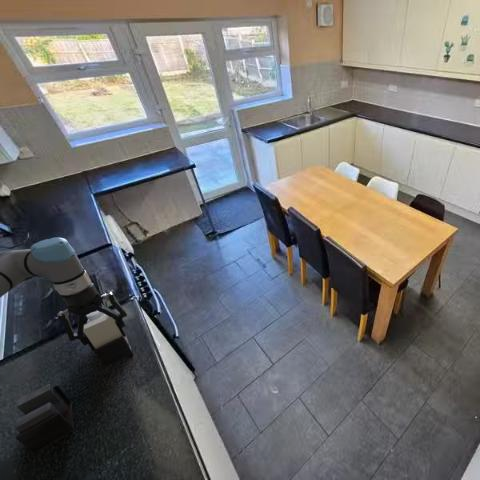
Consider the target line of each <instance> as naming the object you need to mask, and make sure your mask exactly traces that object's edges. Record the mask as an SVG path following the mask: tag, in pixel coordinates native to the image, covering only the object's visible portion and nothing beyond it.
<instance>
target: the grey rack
mask: <svg viewBox="0 0 480 480" xmlns="http://www.w3.org/2000/svg"><path fill="white" fill-rule="evenodd" d="M16 408H17V409H18V410H19V411H20V412H22V413H23V414H24V415H23V416H21V417H19V418H17V419H16V420H15V422H14V423H15V425H14V429H15V430H16V431H18V433H17V434H15V436H14V438H15V439H16V441H18V442H19V443H20V444H22V445H23V446H24V447H25V448H26V449H28V450H29V451H30V452H31V454H33V455H35V454H37V453H39V452H40V451H42V450H43V449H45V448H47V447H49V446H50V445H53V443H55V442H57V441H59V440H60V439H62V438H64V437H65V436H67V435H69V434H70V433H71V432H73V431H75V427H74V426H75V425H74V416H73V407H72V399H71V398H70V397H69V396H68V395H67V394H66V393H65V391H64V390H63V389H62V388H61V386H60V385H59V384H58V383H56V384H53V385H52V384H51V383H48V384H45V385H44V386H42V387H40V388H38V389H36V390H33V391H32V392H30V393H28V394H26V395H24V396H22V397H20V398H18V399H17V400H16Z"/></svg>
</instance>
